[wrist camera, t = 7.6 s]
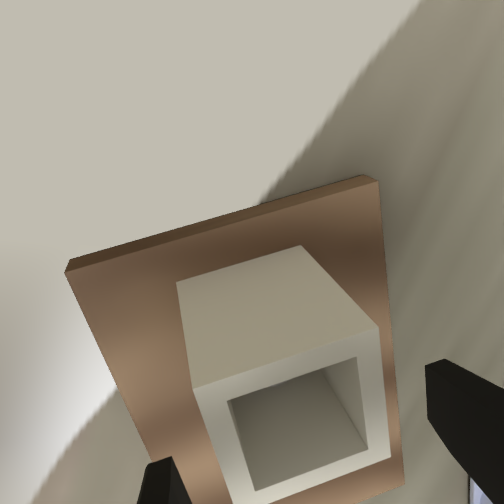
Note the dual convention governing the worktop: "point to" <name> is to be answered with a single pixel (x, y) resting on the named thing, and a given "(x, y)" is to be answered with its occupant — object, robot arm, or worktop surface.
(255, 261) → the hollow square socket
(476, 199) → the worktop surface
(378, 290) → the brown rectangular board
